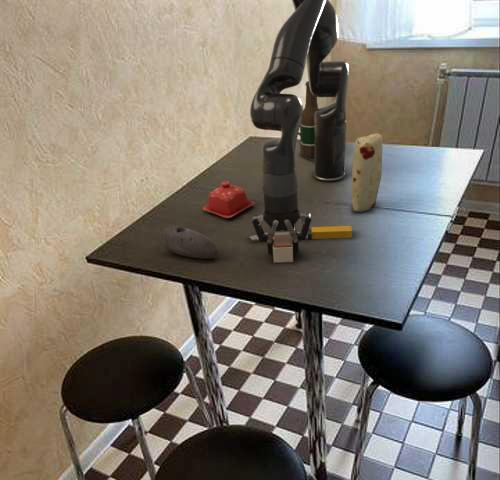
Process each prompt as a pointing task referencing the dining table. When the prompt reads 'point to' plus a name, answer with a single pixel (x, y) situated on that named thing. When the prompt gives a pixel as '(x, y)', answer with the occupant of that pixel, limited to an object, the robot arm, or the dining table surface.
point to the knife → (319, 233)
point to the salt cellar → (282, 248)
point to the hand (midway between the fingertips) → (283, 254)
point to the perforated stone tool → (188, 243)
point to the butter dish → (227, 200)
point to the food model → (366, 171)
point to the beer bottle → (308, 125)
